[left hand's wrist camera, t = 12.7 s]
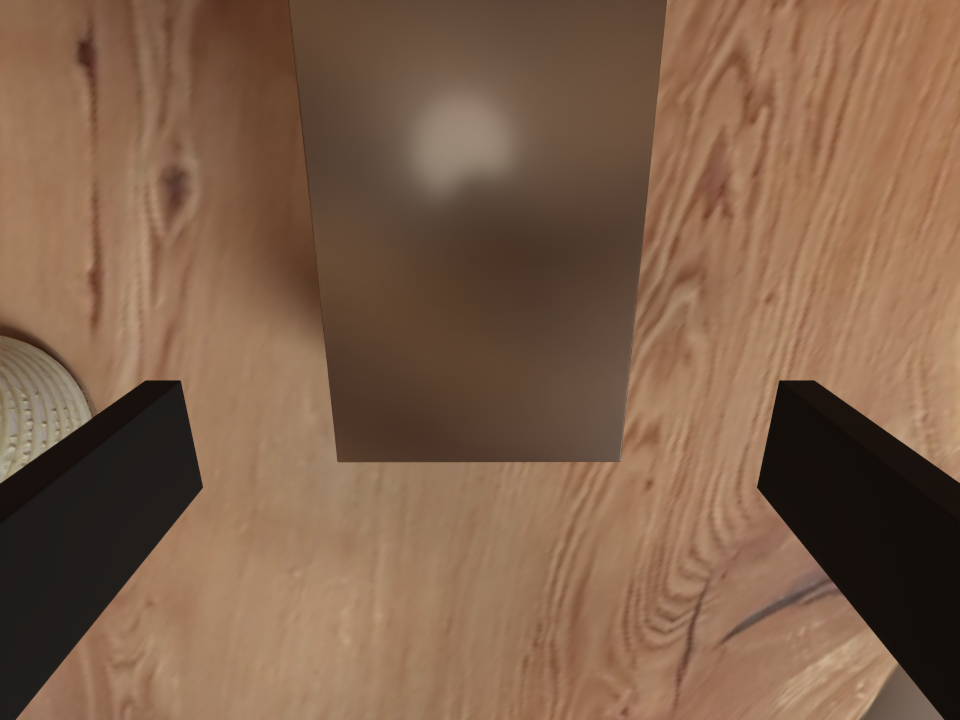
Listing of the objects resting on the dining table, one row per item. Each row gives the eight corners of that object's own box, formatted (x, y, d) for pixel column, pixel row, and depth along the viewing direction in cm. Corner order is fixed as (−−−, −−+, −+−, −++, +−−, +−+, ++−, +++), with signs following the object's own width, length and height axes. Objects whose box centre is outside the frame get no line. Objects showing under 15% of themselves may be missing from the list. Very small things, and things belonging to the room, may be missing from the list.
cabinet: (341, -83, 21) (265, -206, 14) (615, -84, 21) (688, -208, 14) (375, 378, 28) (337, 462, 21) (583, 377, 28) (620, 462, 21)
